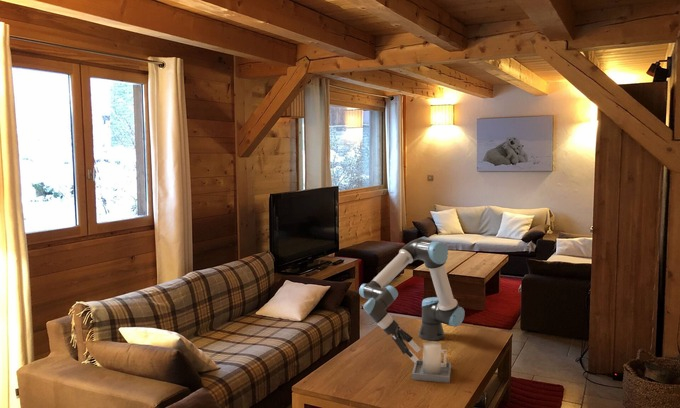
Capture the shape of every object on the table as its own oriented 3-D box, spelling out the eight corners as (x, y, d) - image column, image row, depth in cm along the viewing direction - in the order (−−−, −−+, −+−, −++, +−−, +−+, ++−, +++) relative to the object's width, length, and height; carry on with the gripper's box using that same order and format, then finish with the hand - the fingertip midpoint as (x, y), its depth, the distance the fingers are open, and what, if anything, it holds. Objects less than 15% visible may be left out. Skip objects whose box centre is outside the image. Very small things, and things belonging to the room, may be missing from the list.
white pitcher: (423, 367, 287) (423, 340, 285) (446, 369, 284) (446, 342, 283) (421, 374, 278) (422, 347, 277) (445, 376, 276) (446, 349, 274)
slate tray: (415, 365, 292) (415, 359, 292) (450, 368, 288) (451, 362, 288) (411, 379, 275) (411, 373, 275) (449, 382, 271) (449, 376, 270)
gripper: (386, 321, 296) (414, 351, 295) (379, 337, 272) (409, 370, 271) (396, 312, 295) (425, 342, 293) (390, 327, 271) (421, 360, 269)
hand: (417, 355), depth 282 cm, fingers open, 13 cm apart
